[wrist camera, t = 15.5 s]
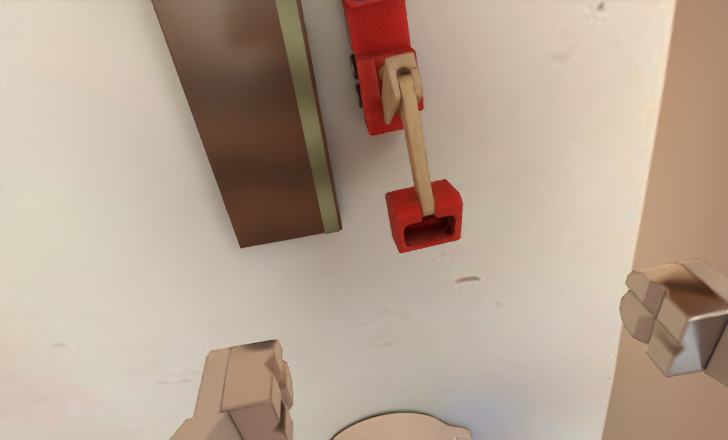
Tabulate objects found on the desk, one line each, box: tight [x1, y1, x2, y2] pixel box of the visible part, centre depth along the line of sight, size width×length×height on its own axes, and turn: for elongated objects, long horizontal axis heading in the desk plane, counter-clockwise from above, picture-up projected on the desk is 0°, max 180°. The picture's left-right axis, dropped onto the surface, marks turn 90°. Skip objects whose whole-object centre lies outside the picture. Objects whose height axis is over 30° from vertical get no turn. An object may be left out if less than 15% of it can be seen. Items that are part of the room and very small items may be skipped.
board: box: [151, 0, 342, 248], centre depth 25 cm, size 20×7×2 cm, turn 7°
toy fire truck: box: [342, 0, 463, 253], centre depth 22 cm, size 3×14×10 cm, turn 10°
